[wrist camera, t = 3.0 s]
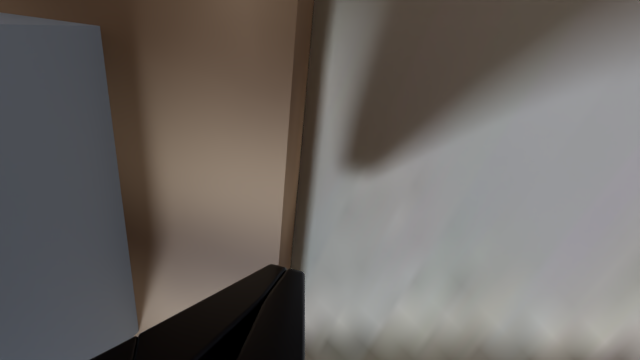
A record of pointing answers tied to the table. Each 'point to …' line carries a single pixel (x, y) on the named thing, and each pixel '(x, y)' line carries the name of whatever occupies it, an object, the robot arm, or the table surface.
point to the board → (200, 135)
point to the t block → (59, 197)
